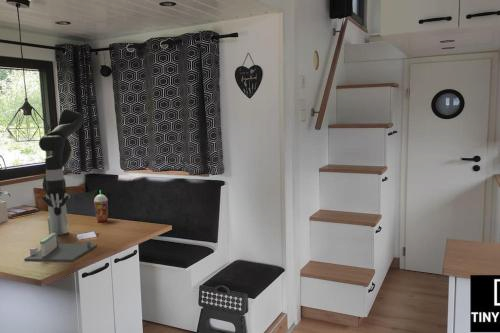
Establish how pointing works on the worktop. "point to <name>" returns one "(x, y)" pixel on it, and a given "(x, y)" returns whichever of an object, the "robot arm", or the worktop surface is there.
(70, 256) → the gate frame
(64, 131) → the robot arm
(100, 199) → the smoothie
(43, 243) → the gate
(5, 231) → the worktop surface
